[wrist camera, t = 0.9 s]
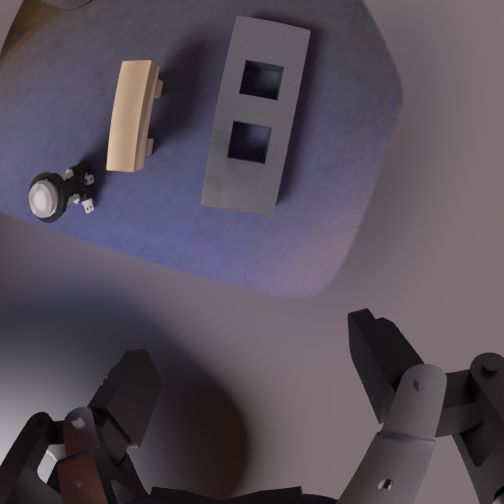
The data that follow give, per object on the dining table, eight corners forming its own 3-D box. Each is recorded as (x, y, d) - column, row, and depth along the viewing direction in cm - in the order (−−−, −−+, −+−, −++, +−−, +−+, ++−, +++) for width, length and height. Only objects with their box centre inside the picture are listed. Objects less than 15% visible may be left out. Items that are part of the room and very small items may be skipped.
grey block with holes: (203, 198, 32) (200, 205, 29) (236, 25, 23) (236, 15, 20) (270, 209, 33) (273, 216, 30) (304, 38, 24) (310, 30, 21)
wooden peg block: (131, 161, 29) (106, 170, 23) (145, 74, 25) (122, 61, 18) (154, 163, 29) (133, 172, 23) (169, 74, 25) (151, 60, 19)
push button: (109, 204, 31) (69, 231, 22) (78, 214, 31) (36, 242, 22) (96, 155, 28) (50, 167, 19) (65, 168, 28) (18, 184, 19)
